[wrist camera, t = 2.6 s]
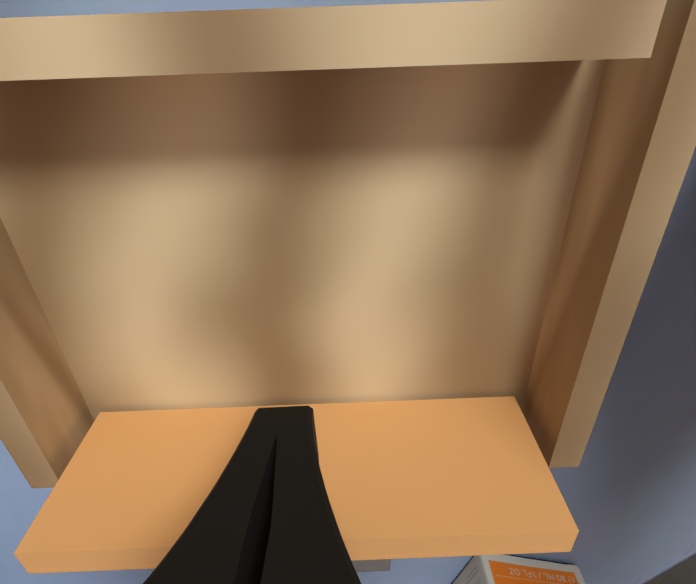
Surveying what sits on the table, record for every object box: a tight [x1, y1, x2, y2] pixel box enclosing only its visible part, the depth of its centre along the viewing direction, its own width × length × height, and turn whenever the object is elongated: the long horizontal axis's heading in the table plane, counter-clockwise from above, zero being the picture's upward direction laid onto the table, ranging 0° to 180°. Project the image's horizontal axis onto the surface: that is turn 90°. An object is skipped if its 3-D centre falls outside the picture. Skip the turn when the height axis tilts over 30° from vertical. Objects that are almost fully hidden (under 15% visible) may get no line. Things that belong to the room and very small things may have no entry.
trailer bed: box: [0, 0, 696, 488], centre depth 13 cm, size 18×13×3 cm
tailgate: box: [14, 396, 579, 573], centre depth 14 cm, size 15×2×5 cm, turn 92°
